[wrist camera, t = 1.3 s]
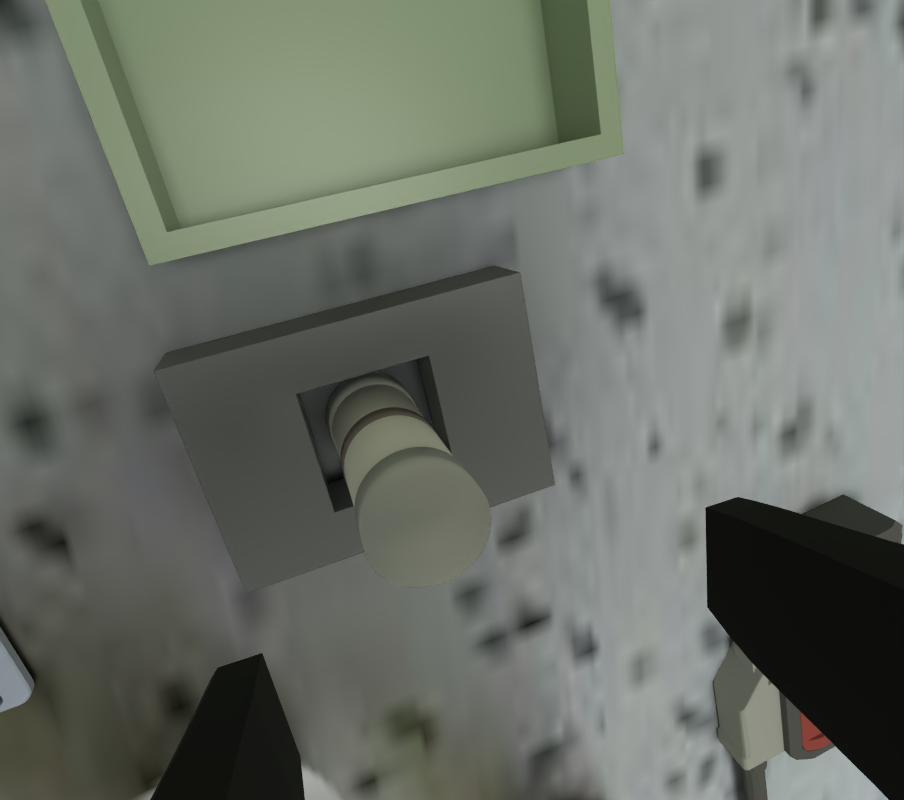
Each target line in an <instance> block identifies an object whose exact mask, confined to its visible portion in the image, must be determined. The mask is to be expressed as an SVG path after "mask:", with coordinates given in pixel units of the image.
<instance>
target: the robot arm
mask: <svg viewBox="0 0 904 800" xmlns="http://www.w3.org/2000/svg"><path fill="white" fill-rule="evenodd" d="M706 553H707V607H708V608H709V610H710V611H711V612H712V614H713V615H714V616H715V618H716V619H717V620H718V622H719V623H720V624H721V625H722V627H723V628H724V629H725V631H726V632H727V633H728V635H729V636H730V637H731V638H732V640H733V641H734V642H735V643H736V644H737V646H738V647H739V648H740V649H741V651H742V652H743V653H744V654H745V655H746V657H747V658H748V659H749V660H750V661H751V662H752V663H753V664H754V665H755V667H756V668H757V669H758V670H759V671H760V672H761V673H762V674H763V675H764V676H765V677H766V678H767V679H768V680H769V681H770V682H771V683H772V684H773V685H774V686H775V687H776V688H777V689H778V690H779V691H780V692H781V693H782V694H783V695H784V696H785V697H786V698H787V699H788V700H789V701H790V702H791V703H792V704H793V705H794V706H795V707H796V708H797V709H798V710H799V711H800V712H801V713H802V714H803V715H804V716H805V717H806V718H807V719H808V720H809V721H810V722H811V723H812V724H813V725H814V726H816V727H817V728H818V729H819V730H820V731H821V732H822V733H823V734H824V735H825V736H826V737H827V738H828V739H829V740H830V741H831V742H832V743H833V744H834V745H835V746H836V747H837V748H838V749H839V750H840V751H841V752H842V753H843V754H844V755H845V756H846V757H847V758H848V759H849V760H850V761H851V762H852V763H853V764H854V765H855V766H856V767H857V768H858V769H859V770H860V771H861V772H862V773H863V774H864V775H865V776H866V777H867V778H868V779H869V780H870V781H871V782H872V783H873V784H874V785H875V786H876V787H877V788H878V789H879V790H880V791H881V792H882V793H883V794H884V795H885V796H886V797H887V798H888V799H889V800H904V545H903V544H899V543H896V542H892V541H889V540H886V539H882V538H879V537H875V536H872V535H869V534H865V533H862V532H859V531H855V530H852V529H849V528H845V527H842V526H839V525H835V524H832V523H829V522H825V521H822V520H819V519H816V518H812V517H809V516H806V515H802V514H799V513H796V512H792V511H789V510H785V509H782V508H778V507H775V506H771V505H768V504H764V503H760V502H756V501H752V500H748V499H744V498H739V497H736V498H733V499H730V500H727V501H724V502H721V503H718V504H715V505H712V506H709V507H706ZM34 685H35V684H34V681H33V679H32V677H31V676H30V674H29V672H28V671H27V669H26V667H25V666H24V664H23V663H22V661H21V659H20V658H19V656H18V655H17V653H16V651H15V650H14V648H13V647H12V645H11V643H10V642H9V640H8V639H7V637H6V635H5V634H4V632H3V631H2V629H1V627H0V696H1V697H2V698H0V712H2V711H5V710H8V709H11V708H14V707H16V706H19V705H21V704H23V703H25V702H26V701H27V700H28V699H29V697H30V696H31V693H32V691H33V689H34ZM150 800H305V798H304V788H303V779H302V769H301V759H300V754H299V752H298V749H297V746H296V744H295V741H294V738H293V735H292V733H291V730H290V727H289V725H288V722H287V719H286V716H285V714H284V711H283V708H282V706H281V703H280V700H279V698H278V695H277V692H276V689H275V687H274V684H273V681H272V679H271V676H270V673H269V670H268V668H267V665H266V662H265V660H264V657H263V654H262V653H261V654H258V655H255V656H252V657H249V658H246V659H243V660H240V661H237V662H234V663H231V664H228V665H225V666H222V667H219V668H217V670H216V672H215V673H214V675H213V676H212V678H211V680H210V682H209V684H208V686H207V688H206V690H205V692H204V695H203V697H202V699H201V701H200V703H199V705H198V707H197V709H196V711H195V713H194V715H193V717H192V719H191V721H190V723H189V725H188V728H187V730H186V732H185V734H184V736H183V738H182V740H181V742H180V744H179V746H178V748H177V750H176V752H175V754H174V756H173V758H172V760H171V762H170V763H169V765H168V767H167V769H166V771H165V773H164V775H163V777H162V779H161V781H160V783H159V784H158V786H157V788H156V790H155V792H154V794H153V796H152V798H151V799H150Z"/></svg>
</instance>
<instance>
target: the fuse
mask: <svg viewBox="0 0 904 800" xmlns="http://www.w3.org/2000/svg"><path fill="white" fill-rule="evenodd" d="M327 423H328V427H329V430H330V434H331V437H332V440H333V443H334V445H335V447H336V449H337V451H338V455H339V458H340V462H341V467H342V471H343V475H344V478H345V481H346V483H347V486H348V489H349V492H350V495H351V499H352V502H353V506H354V514H355V520H356V524H357V528H358V531H359V535H360V538H361V542H362V545H363V549H364V552H365V555H366V557H367V560H368V562H369V563H370V565H371V566H372V568H373V569H374V570H375V571H376V572H377V573H378V574H379V575H380V576H381V577H383V578H384V579H386V580H387V581H389V582H391V583H393V584H396V585H399V586H402V587H408V588H426V587H432V586H436V585H439V584H442V583H445V582H447V581H449V580H451V579H453V578H455V577H457V576H458V575H460V574H461V573H462V572H464V571H465V570H466V569H467V568H469V567H470V566H471V565H472V564H473V562H474V561H475V560H476V559H477V558H478V556H479V555H480V554H481V552H482V550H483V548H484V547H485V545H486V542H487V540H488V537H489V533H490V528H491V511H490V506H489V503H488V500H487V498H486V496H485V494H484V493H483V491H482V490H481V488H480V487H479V486H478V485H477V483H476V482H475V481H474V479H473V478H472V477H471V475H470V474H469V473H468V471H467V470H466V469H465V467H464V466H463V465H462V464H461V463H460V462H459V461H458V460H457V459H456V458H455V457H453V455H452V454H451V453H450V451H449V450H448V449H447V447H446V446H445V445H444V443H443V442H442V441H441V439H440V438H439V436H438V434H437V433H436V431H435V430H434V429H433V427H432V426H431V425H430V423H429V422H428V421H427V420H426V419H425V418H424V417H423V415H422V414H421V413H420V411H419V410H418V409H417V406H416V404H415V402H414V401H413V399H412V398H411V397H410V395H409V394H408V393H407V391H406V390H405V389H404V387H403V386H402V385H401V384H400V383H399V382H398V381H396V380H395V379H394V378H392V377H390V376H388V375H385V374H382V373H377V372H370V373H367V374H364V375H360V376H357V377H353V378H350V379H347V380H345V381H344V382H342V383H341V384H340V385H339V386H338V387H337V388H336V389H335V391H334V392H333V394H332V396H331V398H330V400H329V403H328V407H327Z"/></svg>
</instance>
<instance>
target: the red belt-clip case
mask: <svg viewBox="0 0 904 800" xmlns="http://www.w3.org/2000/svg"><path fill="white" fill-rule="evenodd" d="M802 515H806V516H809V517H812V518H816V519H819V520H822V521H825V522H829V523H832V524H835V525H839V526H842V527H845V528H849V529H852V530H855V531H859V532H862V533H865V534H869V535H872V536H875V537H879V538H882V539H886V540H889V541H892V542H896V543H899V544H901V539H902V534H901V533H902V525H901V524H900V523H898V522H897V521H895V520H893V519H891V518H889V517H887V516H885V515H883V514H881V513H879V512H877V511H875V510H873V509H871V508H869V507H867V506H865V505H863V504H861V503H859V502H857V501H855V500H853V499H851V498H849V497H847V496H845V495H841V496H839V497H837V498H835V499H833V500H831V501H829V502H826V503H824V504H822V505H820V506H818V507H816V508H814V509H812V510H809V511H807V512H805V513H803V514H802ZM714 690H715V697H716V704H717V711H718V718H719V727H718V729H717V731H718V737H719V741H720V742H721V743H722V745H723V746H724V747H725V748H726V749H727V750H728V752H729V753H730V754H731V755H732V756H733V757H734V759H735V760H736V761H737V762H738V763H739V766H740V767H741V768H742V776H743V784H744V792H745V800H768V799H767V789H766V780H765V771H764V770H765V769H766V766H767V760H768V759H770V758H772V757H774V756H776V755H778V754H779V753H781V752H783V751H784V750H785V751H786V752H787V753H788V754H789V756H790V757H792V758H794V759H796V760H799V759H812V758H815V757H817V756H819V755H821V754H822V753H824V752H826V751H828V750H829V749H831V748H833V747H835V745H834V744H833V743H832V742H831V741H830V740H829V739H828V738H827V737H826V736H825V735H824V734H823V733H822V732H821V731H820V730H819V729H818V728H817V727H816V726H814V725H813V724H812V723H811V722H810V721H809V720H808V719H807V718H806V717H805V716H804V715H803V714H802V713H801V712H800V711H799V710H798V709H797V708H796V707H795V706H794V705H793V704H792V703H791V702H790V701H789V700H788V699H787V698H786V697H785V696H784V695H783V694H782V693H781V692H780V691H779V690H778V689H777V688H776V687H775V686H774V685H773V684H772V683H771V682H770V681H769V680H768V679H767V678H766V677H765V676H764V675H763V674H762V673H761V672H760V671H759V670H758V669H757V668H756V667H755V665H754V664H753V663H752V662H751V661H750V660H749V659H748V658H747V657H746V655H745V654H744V653H743V652H742V651H741V649H740V648H739V647H738V646H737V644H736V643H735V642H734V641H733V643H732V645H731V647H730V649H729V651H728V653H727V655H726V657H725V659H724V661H723V663H722V665H721V667H720V669H719V670H718V672H717V674H716V676H715V678H714Z"/></svg>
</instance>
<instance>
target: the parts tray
mask: <svg viewBox="0 0 904 800" xmlns="http://www.w3.org/2000/svg"><path fill="white" fill-rule="evenodd" d="M45 1H46V4H47V6H48V9H49V12H50V14H51V17H52V19H53V22H54V24H55V27H56V29H57V32H58V35H59V37H60V40H61V42H62V45H63V47H64V50H65V52H66V55H67V57H68V60H69V63H70V65H71V68H72V70H73V73H74V75H75V78H76V80H77V83H78V86H79V88H80V91H81V93H82V96H83V98H84V101H85V103H86V106H87V108H88V111H89V114H90V116H91V119H92V121H93V124H94V126H95V129H96V131H97V134H98V137H99V139H100V142H101V144H102V147H103V149H104V152H105V154H106V157H107V159H108V162H109V165H110V167H111V170H112V172H113V175H114V177H115V180H116V182H117V185H118V188H119V190H120V193H121V195H122V198H123V200H124V203H125V205H126V208H127V211H128V213H129V216H130V218H131V221H132V223H133V226H134V228H135V231H136V233H137V236H138V239H139V241H140V244H141V246H142V249H143V251H144V254H145V256H146V259H147V262H148V264H149V266H150V265H155V264H159V263H163V262H167V261H172V260H176V259H180V258H184V257H189V256H193V255H197V254H201V253H206V252H210V251H214V250H218V249H223V248H227V247H231V246H235V245H240V244H244V243H248V242H252V241H257V240H261V239H265V238H269V237H274V236H278V235H282V234H286V233H291V232H295V231H299V230H303V229H308V228H312V227H316V226H320V225H325V224H329V223H333V222H338V221H342V220H346V219H350V218H355V217H359V216H363V215H367V214H372V213H376V212H380V211H384V210H389V209H393V208H397V207H401V206H406V205H410V204H414V203H418V202H423V201H427V200H431V199H435V198H440V197H444V196H448V195H452V194H457V193H461V192H465V191H469V190H474V189H478V188H482V187H486V186H491V185H495V184H499V183H503V182H508V181H512V180H516V179H520V178H525V177H529V176H533V175H537V174H542V173H546V172H550V171H555V170H559V169H563V168H567V167H572V166H576V165H580V164H584V163H589V162H593V161H597V160H601V159H606V158H610V157H614V156H618V155H623V154H624V150H623V139H622V128H621V117H620V107H619V96H618V85H617V74H616V64H615V53H614V42H613V31H612V21H611V10H610V0H45Z"/></svg>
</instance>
